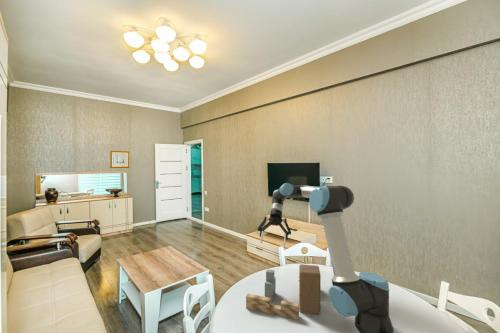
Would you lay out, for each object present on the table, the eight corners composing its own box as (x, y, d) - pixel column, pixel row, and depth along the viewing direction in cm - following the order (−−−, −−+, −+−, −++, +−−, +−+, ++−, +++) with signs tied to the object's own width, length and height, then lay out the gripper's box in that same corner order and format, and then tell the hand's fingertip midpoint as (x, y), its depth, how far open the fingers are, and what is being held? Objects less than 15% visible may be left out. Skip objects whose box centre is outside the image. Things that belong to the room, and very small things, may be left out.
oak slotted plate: (298, 316, 109) (298, 303, 109) (298, 319, 106) (298, 306, 106) (247, 305, 117) (247, 293, 117) (246, 308, 115) (246, 296, 115)
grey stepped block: (268, 291, 130) (268, 267, 130) (275, 292, 129) (275, 268, 129) (264, 299, 122) (264, 273, 122) (271, 301, 121) (271, 274, 121)
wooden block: (320, 315, 109) (320, 273, 109) (299, 312, 111) (299, 271, 111) (318, 303, 119) (318, 265, 119) (299, 300, 121) (299, 263, 121)
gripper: (296, 216, 146) (294, 248, 132) (258, 213, 152) (252, 243, 138) (296, 210, 140) (294, 243, 127) (256, 207, 146) (250, 238, 133)
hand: (272, 243), depth 132 cm, fingers open, 13 cm apart
